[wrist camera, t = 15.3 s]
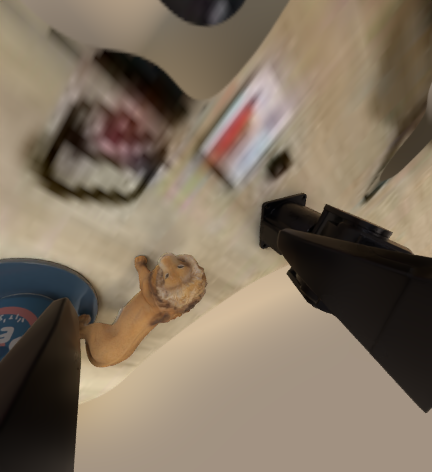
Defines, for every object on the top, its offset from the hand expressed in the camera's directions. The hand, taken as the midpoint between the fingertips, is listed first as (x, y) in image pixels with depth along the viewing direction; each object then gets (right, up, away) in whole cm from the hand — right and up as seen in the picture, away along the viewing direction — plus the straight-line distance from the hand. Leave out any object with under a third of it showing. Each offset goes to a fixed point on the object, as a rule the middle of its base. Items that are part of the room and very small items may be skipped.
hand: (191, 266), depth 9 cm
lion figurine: (-8, -3, +14) cm, 17 cm away
